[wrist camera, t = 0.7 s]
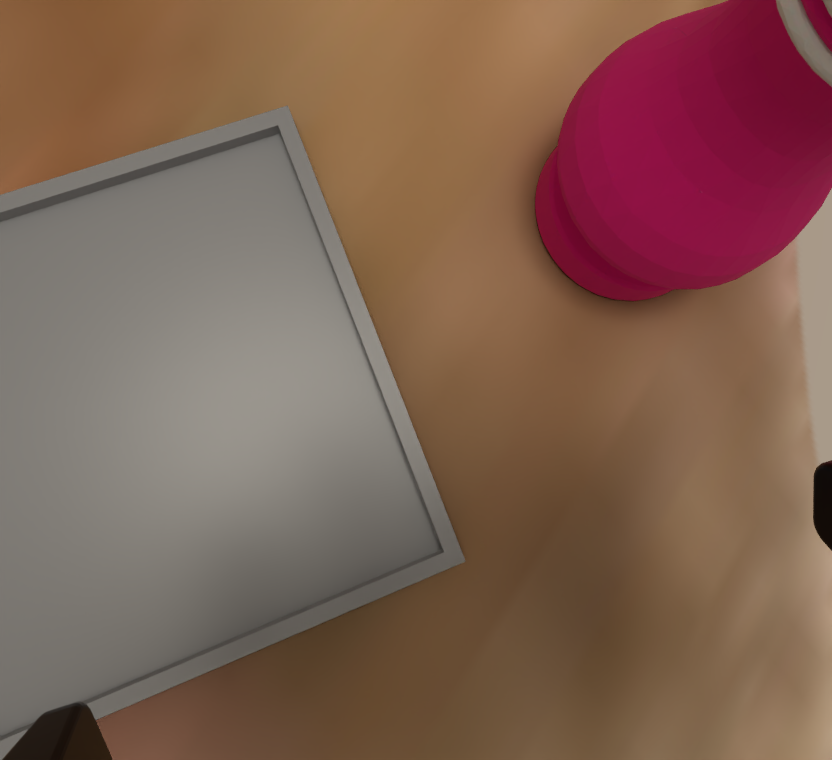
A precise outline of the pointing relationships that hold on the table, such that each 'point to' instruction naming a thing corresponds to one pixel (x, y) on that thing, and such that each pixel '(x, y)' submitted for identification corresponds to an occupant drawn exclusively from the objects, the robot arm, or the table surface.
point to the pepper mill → (693, 150)
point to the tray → (190, 424)
